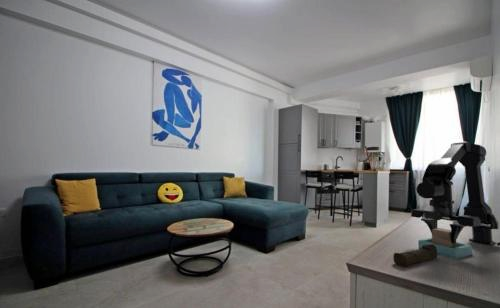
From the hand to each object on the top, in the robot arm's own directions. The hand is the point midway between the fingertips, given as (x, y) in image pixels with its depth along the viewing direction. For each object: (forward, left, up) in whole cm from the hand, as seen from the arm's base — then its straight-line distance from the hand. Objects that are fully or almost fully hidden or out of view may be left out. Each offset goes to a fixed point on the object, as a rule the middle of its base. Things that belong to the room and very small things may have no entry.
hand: (444, 241), depth 81 cm
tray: (0, 0, -4) cm, 4 cm away
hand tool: (+19, +1, -4) cm, 20 cm away
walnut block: (0, 0, -1) cm, 1 cm away
